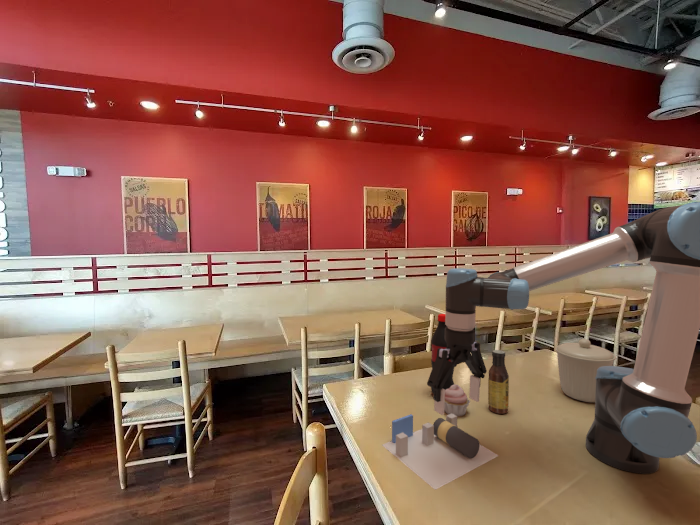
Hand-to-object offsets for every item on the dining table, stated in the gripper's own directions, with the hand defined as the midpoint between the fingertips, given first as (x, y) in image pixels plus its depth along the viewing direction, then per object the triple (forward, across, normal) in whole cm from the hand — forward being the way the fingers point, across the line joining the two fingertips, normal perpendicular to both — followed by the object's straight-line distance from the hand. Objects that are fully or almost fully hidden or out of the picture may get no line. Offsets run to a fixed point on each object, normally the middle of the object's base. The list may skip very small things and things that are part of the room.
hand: (457, 405), depth 91 cm
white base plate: (+13, +4, -2) cm, 14 cm away
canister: (+12, -65, +2) cm, 66 cm away
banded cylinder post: (+12, 0, -1) cm, 12 cm away
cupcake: (+13, -16, -14) cm, 25 cm away
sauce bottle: (+13, -30, -8) cm, 33 cm away
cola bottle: (+13, -23, -26) cm, 37 cm away
